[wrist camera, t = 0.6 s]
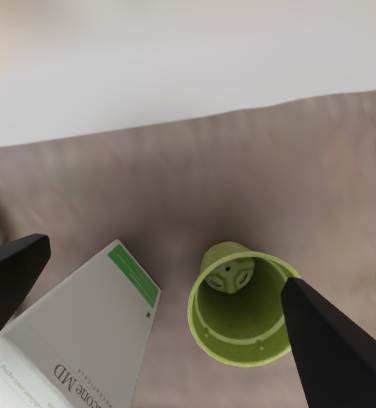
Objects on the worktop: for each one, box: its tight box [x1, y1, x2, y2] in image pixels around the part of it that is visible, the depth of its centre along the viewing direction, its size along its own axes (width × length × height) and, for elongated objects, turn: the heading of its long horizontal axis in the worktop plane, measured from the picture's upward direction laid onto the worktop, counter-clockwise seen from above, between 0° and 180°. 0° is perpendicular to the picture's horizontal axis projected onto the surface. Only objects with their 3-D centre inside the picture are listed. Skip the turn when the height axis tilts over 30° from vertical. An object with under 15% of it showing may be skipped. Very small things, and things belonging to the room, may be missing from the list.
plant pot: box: [187, 241, 303, 367], centre depth 21 cm, size 9×9×9 cm
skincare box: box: [0, 239, 161, 408], centre depth 18 cm, size 8×7×16 cm
